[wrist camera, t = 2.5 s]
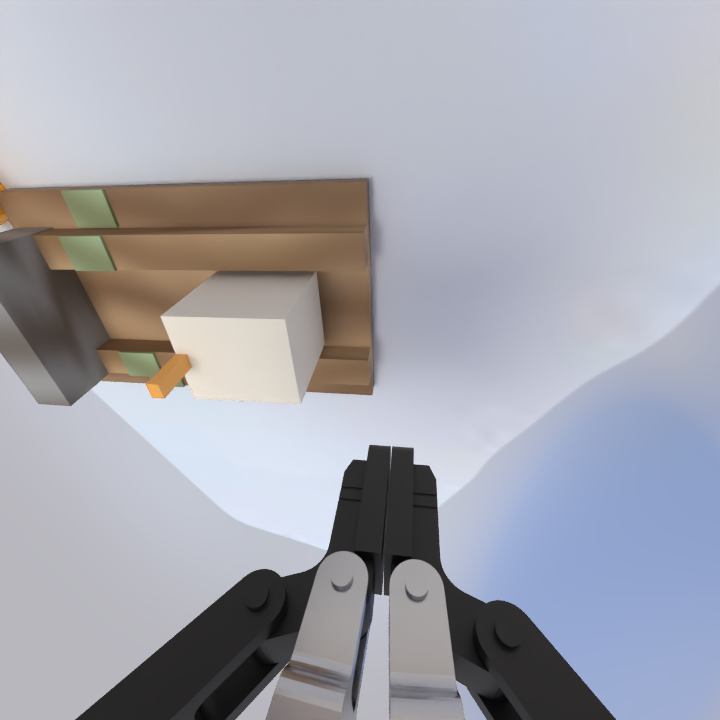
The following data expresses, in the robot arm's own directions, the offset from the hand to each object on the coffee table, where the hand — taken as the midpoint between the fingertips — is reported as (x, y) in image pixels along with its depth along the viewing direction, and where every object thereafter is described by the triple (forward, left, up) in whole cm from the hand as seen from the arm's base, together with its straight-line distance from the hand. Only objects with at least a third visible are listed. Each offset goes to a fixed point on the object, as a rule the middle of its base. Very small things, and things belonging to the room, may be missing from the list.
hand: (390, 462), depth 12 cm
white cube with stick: (0, -8, -11) cm, 14 cm away
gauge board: (0, -13, -13) cm, 18 cm away
